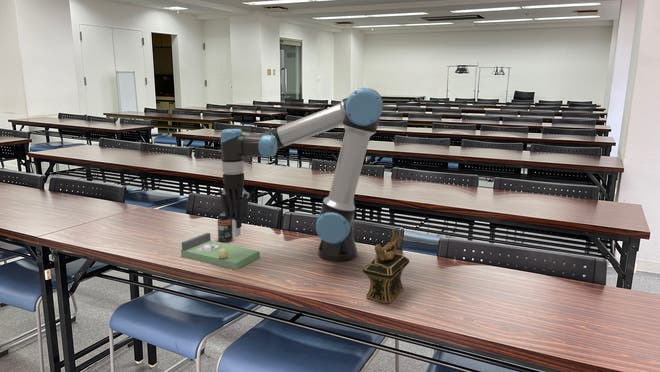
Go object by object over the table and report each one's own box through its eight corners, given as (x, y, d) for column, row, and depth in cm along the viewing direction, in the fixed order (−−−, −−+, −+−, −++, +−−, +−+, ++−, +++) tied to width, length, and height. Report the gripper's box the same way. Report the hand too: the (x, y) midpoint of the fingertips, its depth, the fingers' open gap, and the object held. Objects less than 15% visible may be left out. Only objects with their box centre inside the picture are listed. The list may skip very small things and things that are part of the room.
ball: (210, 241, 180) (205, 246, 182) (203, 244, 177) (198, 249, 178) (215, 249, 179) (210, 253, 181) (209, 252, 176) (204, 257, 178)
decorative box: (389, 308, 139) (393, 245, 135) (360, 300, 143) (363, 239, 139) (412, 284, 156) (416, 228, 152) (385, 278, 161) (388, 223, 156)
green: (259, 257, 177) (259, 243, 176) (236, 269, 165) (235, 254, 163) (206, 245, 188) (206, 232, 187) (181, 256, 176) (180, 242, 175)
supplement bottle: (226, 237, 199) (225, 211, 197) (235, 240, 196) (235, 214, 193) (215, 240, 195) (214, 214, 193) (224, 243, 191) (223, 216, 189)
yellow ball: (230, 257, 169) (230, 247, 169) (223, 260, 166) (223, 250, 165) (222, 255, 171) (222, 246, 170) (216, 258, 168) (215, 249, 167)
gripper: (254, 172, 167) (257, 235, 172) (225, 169, 173) (229, 230, 178) (241, 175, 160) (244, 241, 165) (212, 173, 166) (216, 236, 171)
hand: (236, 235), depth 171 cm, fingers closed
